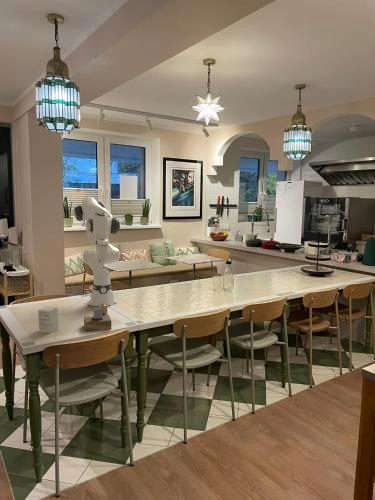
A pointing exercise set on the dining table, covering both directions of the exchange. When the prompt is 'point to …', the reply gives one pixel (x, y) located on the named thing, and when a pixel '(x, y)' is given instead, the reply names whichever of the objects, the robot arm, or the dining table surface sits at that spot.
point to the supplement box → (48, 319)
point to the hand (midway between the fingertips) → (101, 264)
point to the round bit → (103, 309)
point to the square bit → (97, 314)
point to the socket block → (97, 323)
